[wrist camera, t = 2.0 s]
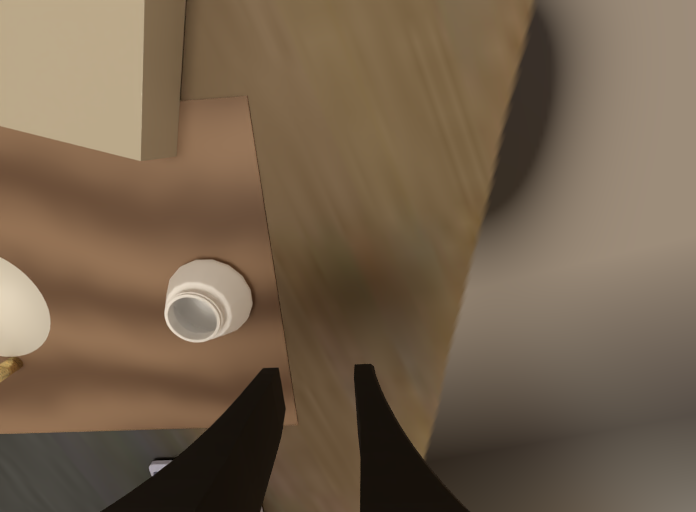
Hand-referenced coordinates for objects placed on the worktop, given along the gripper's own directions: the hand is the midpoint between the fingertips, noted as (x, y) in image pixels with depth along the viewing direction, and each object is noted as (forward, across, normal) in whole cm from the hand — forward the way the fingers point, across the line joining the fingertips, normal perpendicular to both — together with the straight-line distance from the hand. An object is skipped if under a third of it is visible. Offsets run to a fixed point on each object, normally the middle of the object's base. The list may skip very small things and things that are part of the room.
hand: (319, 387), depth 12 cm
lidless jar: (+9, +8, 0) cm, 11 cm away
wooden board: (+9, +18, 0) cm, 20 cm away
